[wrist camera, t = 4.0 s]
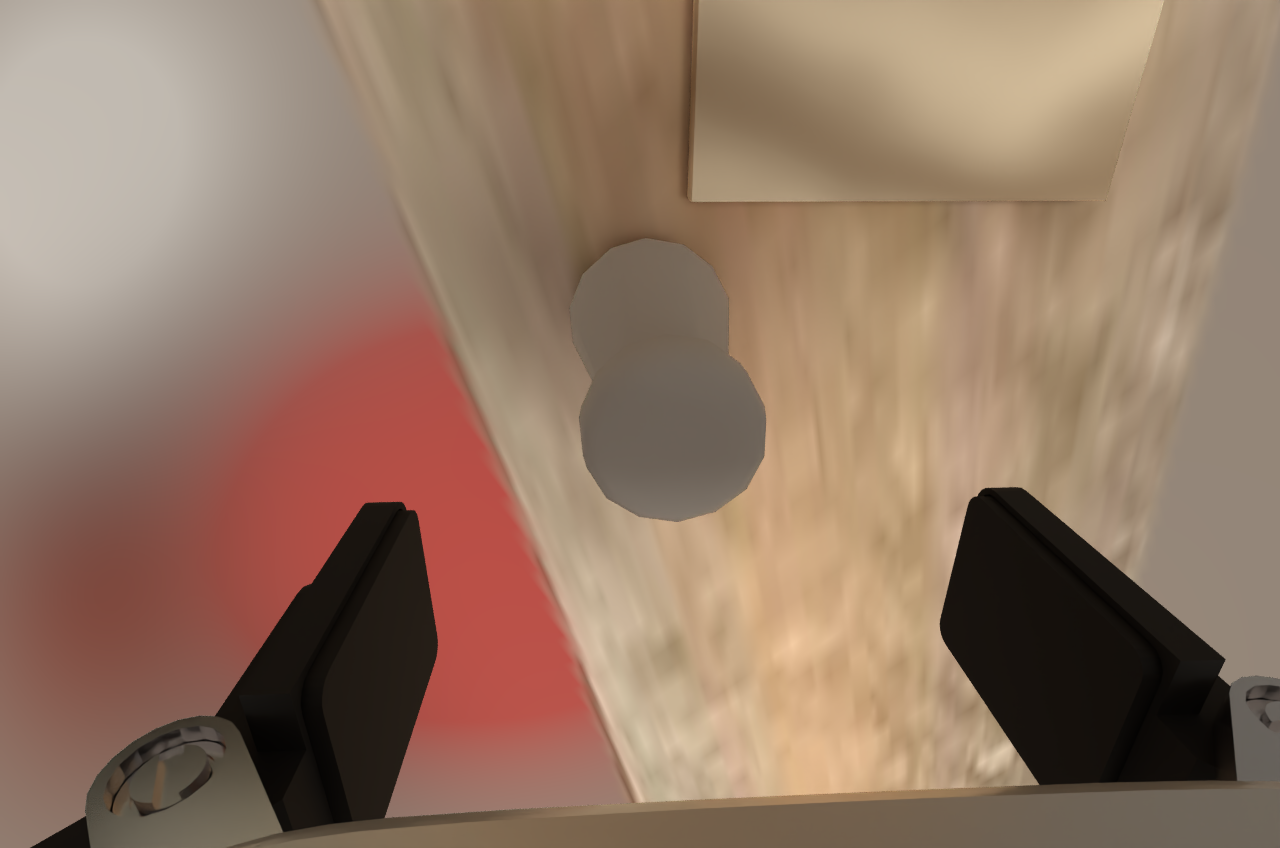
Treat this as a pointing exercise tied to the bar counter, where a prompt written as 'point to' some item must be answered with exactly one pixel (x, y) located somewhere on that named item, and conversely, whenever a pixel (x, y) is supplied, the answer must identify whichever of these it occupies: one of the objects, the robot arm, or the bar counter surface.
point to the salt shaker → (663, 384)
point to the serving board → (912, 98)
